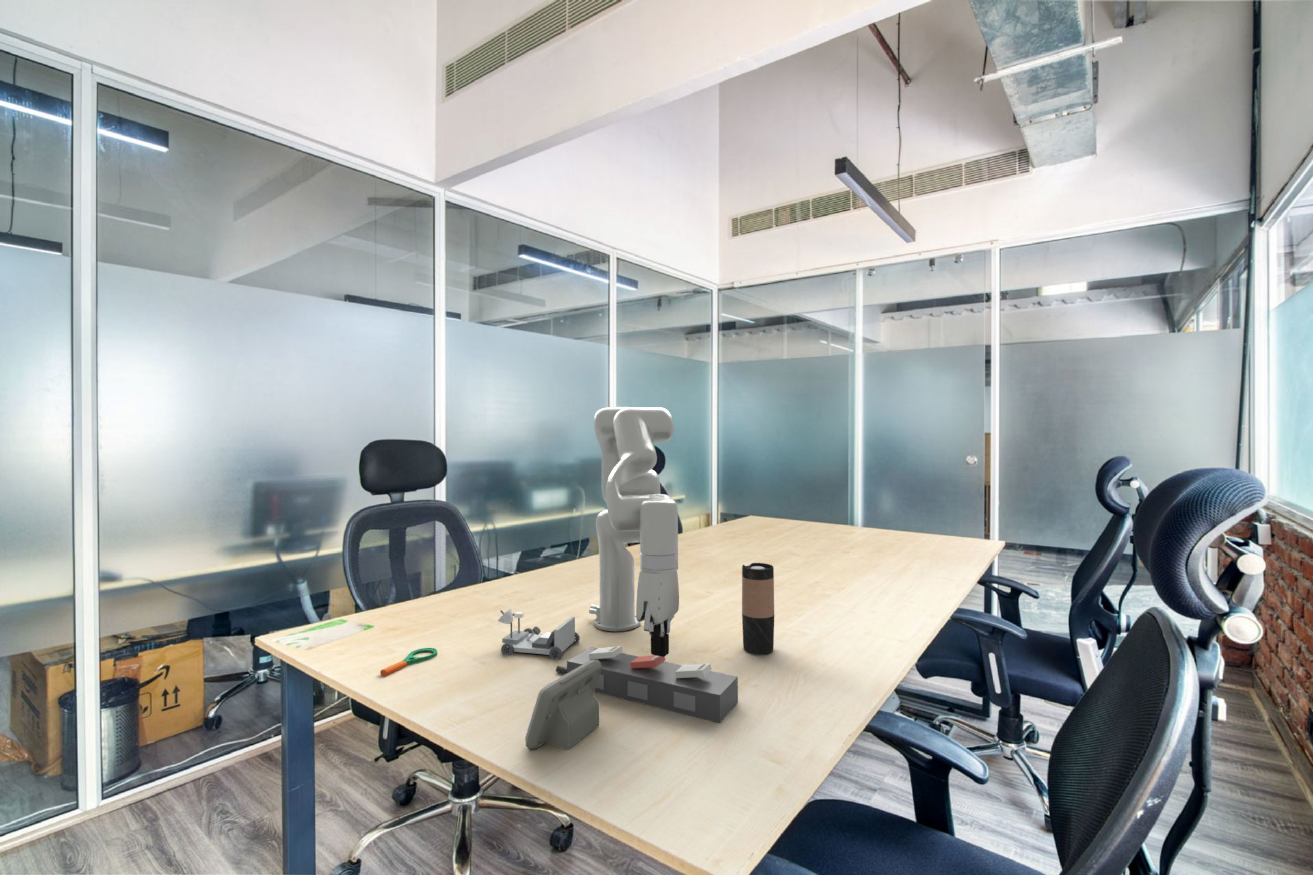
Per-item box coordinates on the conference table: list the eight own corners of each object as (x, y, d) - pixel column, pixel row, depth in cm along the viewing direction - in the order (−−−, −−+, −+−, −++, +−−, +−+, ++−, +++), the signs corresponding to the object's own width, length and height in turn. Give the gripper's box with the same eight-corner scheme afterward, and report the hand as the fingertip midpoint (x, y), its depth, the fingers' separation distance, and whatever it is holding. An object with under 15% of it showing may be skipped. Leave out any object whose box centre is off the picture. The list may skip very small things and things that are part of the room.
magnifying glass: (423, 651, 141) (422, 644, 141) (443, 654, 139) (443, 647, 139) (372, 675, 126) (372, 668, 126) (394, 679, 124) (394, 671, 124)
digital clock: (584, 708, 110) (583, 652, 110) (618, 723, 104) (617, 664, 104) (512, 743, 97) (511, 679, 97) (546, 762, 92) (545, 695, 92)
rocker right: (676, 678, 111) (674, 671, 111) (684, 671, 114) (682, 664, 114) (704, 676, 108) (702, 669, 108) (711, 669, 111) (710, 662, 111)
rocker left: (590, 659, 120) (588, 653, 121) (599, 653, 124) (598, 647, 124) (613, 657, 118) (612, 651, 118) (622, 651, 121) (621, 645, 121)
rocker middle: (631, 668, 116) (629, 661, 116) (640, 662, 119) (639, 655, 119) (656, 666, 113) (655, 659, 113) (665, 660, 116) (664, 653, 116)
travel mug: (774, 656, 135) (774, 570, 135) (741, 654, 136) (740, 569, 136) (774, 644, 142) (774, 563, 142) (743, 642, 144) (742, 562, 144)
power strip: (543, 679, 123) (543, 656, 123) (570, 664, 131) (569, 642, 131) (719, 723, 103) (719, 695, 103) (737, 702, 112) (737, 676, 112)
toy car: (490, 613, 138) (514, 600, 149) (490, 654, 138) (514, 638, 149) (560, 619, 134) (579, 604, 145) (561, 661, 134) (579, 644, 145)
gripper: (660, 553, 123) (660, 639, 123) (622, 567, 110) (623, 664, 110) (692, 556, 119) (693, 645, 119) (657, 571, 106) (658, 671, 106)
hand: (659, 654), depth 114 cm, fingers closed
